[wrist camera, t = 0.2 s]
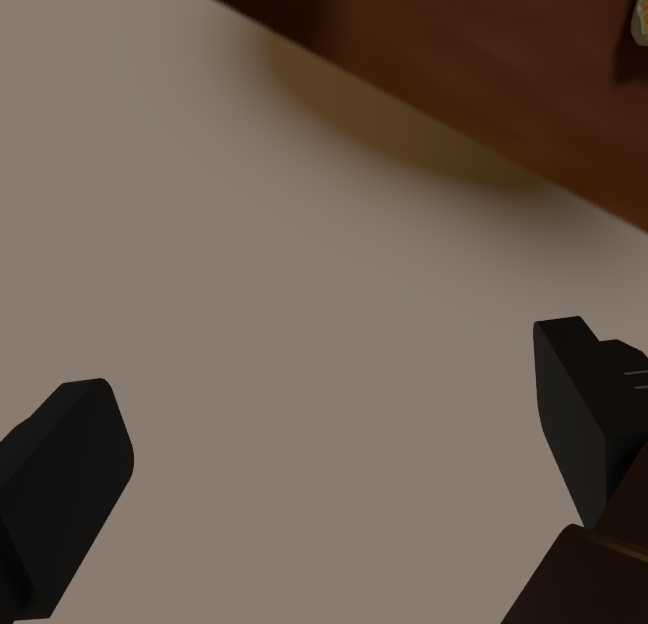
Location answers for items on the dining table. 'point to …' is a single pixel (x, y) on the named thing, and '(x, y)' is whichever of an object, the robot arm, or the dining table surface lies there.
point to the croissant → (640, 23)
